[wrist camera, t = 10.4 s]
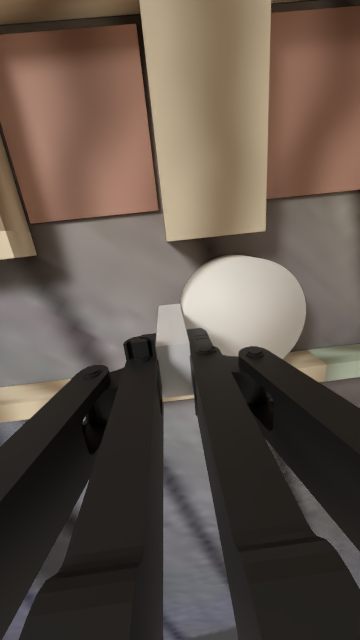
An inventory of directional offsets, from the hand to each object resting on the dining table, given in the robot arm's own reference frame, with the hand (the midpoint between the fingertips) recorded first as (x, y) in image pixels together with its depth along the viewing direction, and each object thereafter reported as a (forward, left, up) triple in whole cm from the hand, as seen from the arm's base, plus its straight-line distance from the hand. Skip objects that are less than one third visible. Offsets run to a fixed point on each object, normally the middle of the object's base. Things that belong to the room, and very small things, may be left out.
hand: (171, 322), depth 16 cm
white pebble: (+5, 0, -2) cm, 5 cm away
